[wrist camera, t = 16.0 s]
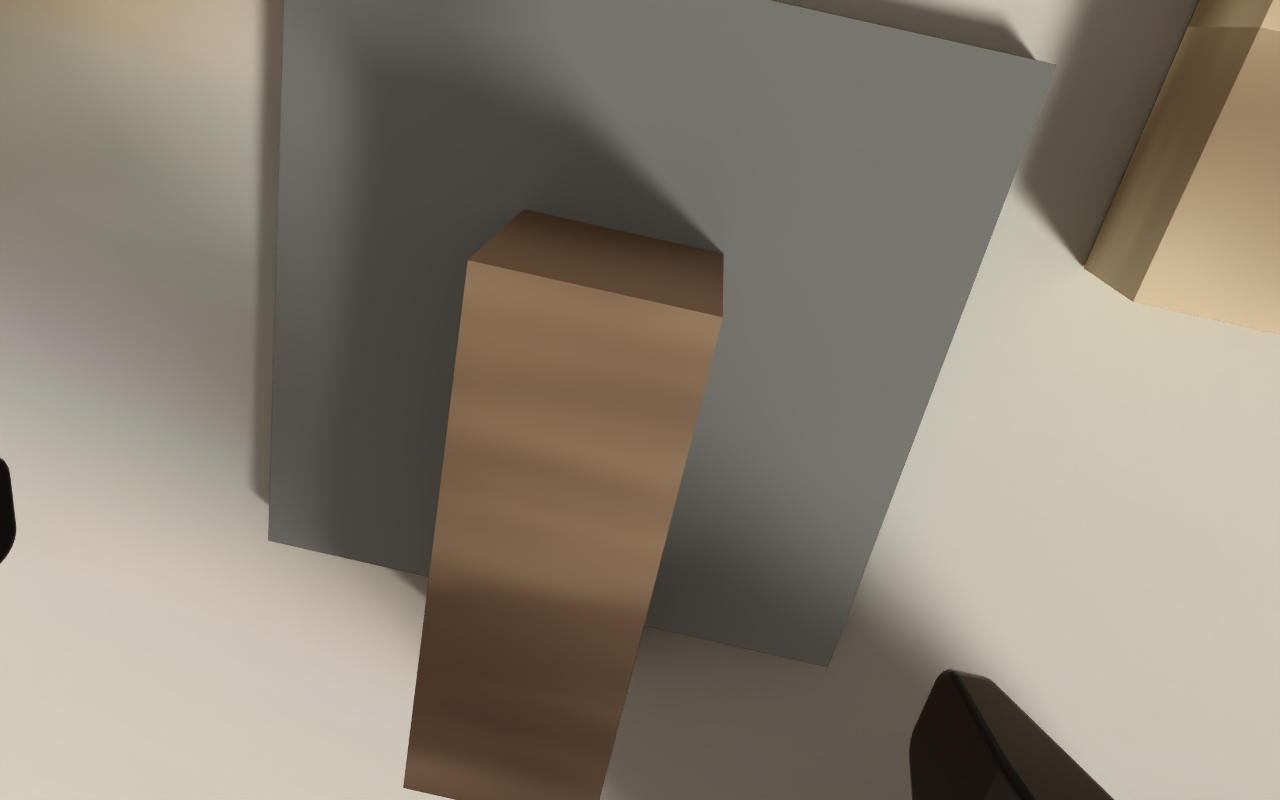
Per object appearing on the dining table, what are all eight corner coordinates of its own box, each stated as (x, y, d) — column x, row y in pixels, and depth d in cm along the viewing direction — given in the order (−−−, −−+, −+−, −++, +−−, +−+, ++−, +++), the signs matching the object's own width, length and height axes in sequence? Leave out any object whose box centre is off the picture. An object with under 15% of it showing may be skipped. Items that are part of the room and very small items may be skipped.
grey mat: (823, 642, 19) (828, 667, 18) (285, 520, 19) (268, 540, 18) (1038, 62, 14) (1056, 64, 13) (310, -103, 14) (287, -109, 13)
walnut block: (591, 830, 16) (722, 317, 12) (402, 788, 16) (467, 260, 12) (614, 693, 19) (723, 253, 15) (457, 658, 19) (524, 208, 15)
